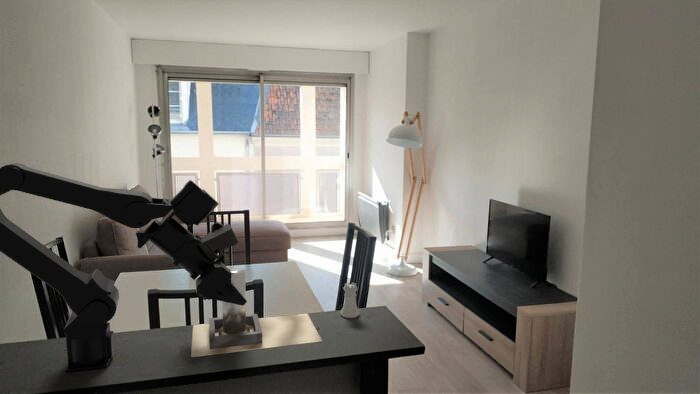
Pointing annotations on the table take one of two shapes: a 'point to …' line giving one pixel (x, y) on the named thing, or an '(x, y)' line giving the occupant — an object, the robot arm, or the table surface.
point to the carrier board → (253, 334)
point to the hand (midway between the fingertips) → (241, 295)
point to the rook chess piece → (350, 301)
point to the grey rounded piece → (235, 308)
